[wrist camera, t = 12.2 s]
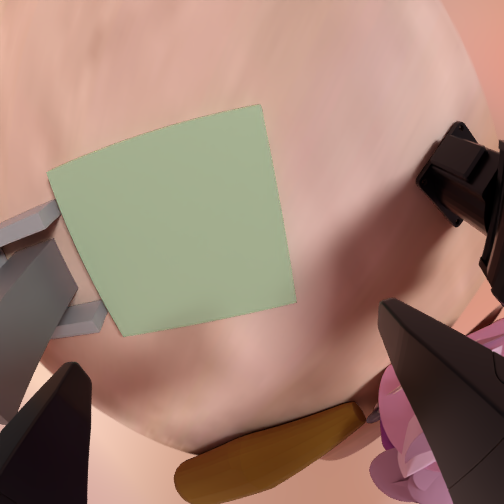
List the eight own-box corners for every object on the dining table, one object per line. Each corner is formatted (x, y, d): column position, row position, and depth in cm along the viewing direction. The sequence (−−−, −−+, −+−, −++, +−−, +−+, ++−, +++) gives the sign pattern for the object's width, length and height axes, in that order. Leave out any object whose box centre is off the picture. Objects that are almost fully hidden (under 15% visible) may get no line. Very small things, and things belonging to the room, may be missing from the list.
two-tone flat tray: (258, 104, 17) (264, 105, 15) (293, 294, 24) (301, 315, 21) (-25, 209, 17) (-43, 221, 15) (46, 340, 24) (37, 358, 22)
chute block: (53, 238, 19) (-44, 366, 8) (78, 287, 22) (12, 426, 10) (15, 251, 19) (-74, 365, 8) (39, 296, 22) (-27, 418, 10)
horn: (346, 383, 35) (211, 455, 41) (314, 391, 27) (162, 465, 33) (376, 434, 30) (231, 496, 37) (353, 459, 22) (184, 514, 29)
